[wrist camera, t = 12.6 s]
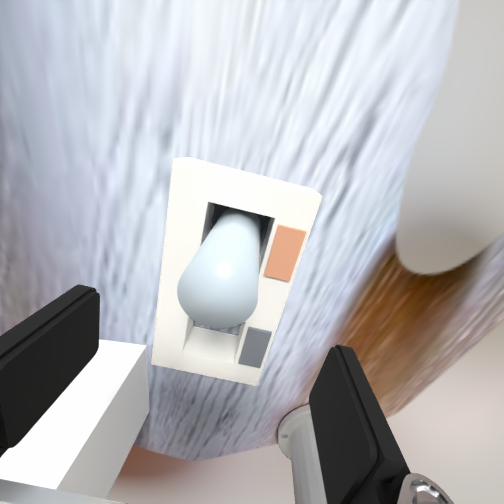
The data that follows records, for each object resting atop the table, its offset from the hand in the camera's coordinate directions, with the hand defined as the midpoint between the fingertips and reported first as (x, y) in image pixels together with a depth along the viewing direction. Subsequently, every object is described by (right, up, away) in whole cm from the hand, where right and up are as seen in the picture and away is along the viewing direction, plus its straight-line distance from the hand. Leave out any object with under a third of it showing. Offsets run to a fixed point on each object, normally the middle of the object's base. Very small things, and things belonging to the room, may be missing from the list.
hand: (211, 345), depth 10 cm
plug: (0, +6, +13) cm, 15 cm away
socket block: (-1, +2, +15) cm, 15 cm away
